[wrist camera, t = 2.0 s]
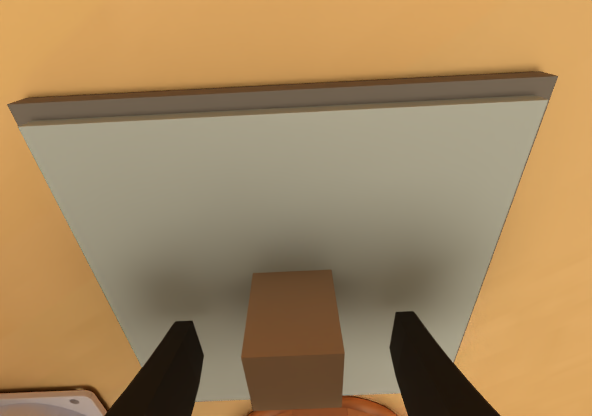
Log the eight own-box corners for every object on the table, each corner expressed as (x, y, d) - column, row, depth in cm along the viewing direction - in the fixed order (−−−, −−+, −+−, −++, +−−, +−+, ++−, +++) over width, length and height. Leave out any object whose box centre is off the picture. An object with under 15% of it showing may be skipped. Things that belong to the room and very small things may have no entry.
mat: (162, 382, 18) (157, 397, 18) (26, 98, 10) (7, 104, 9) (439, 370, 18) (445, 384, 18) (539, 71, 10) (558, 76, 9)
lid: (164, 391, 18) (133, 486, 14) (32, 120, 10) (-114, 184, 6) (438, 380, 17) (475, 473, 14) (534, 95, 9) (677, 144, 6)
